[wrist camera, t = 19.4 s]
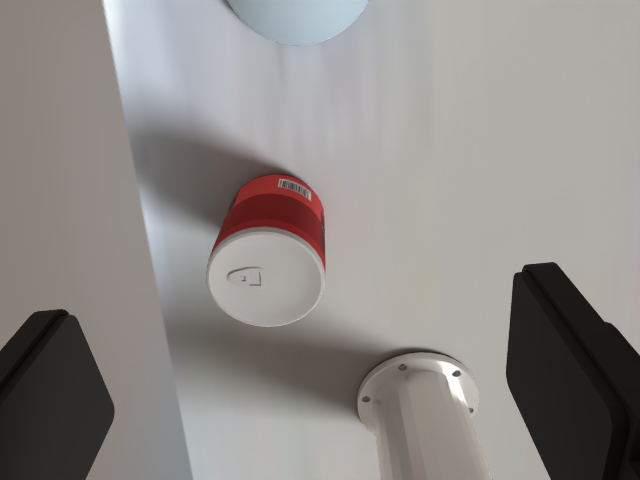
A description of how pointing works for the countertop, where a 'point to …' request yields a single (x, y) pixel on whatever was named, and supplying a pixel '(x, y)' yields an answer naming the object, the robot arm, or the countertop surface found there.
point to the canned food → (269, 253)
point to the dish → (298, 18)
